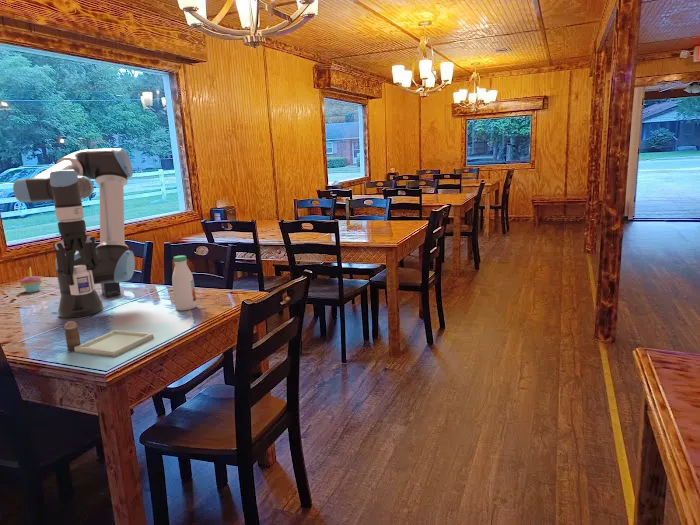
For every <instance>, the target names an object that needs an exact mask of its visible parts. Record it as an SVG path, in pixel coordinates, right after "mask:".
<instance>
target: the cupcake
mask: <svg viewBox="0 0 700 525" xmlns="http://www.w3.org/2000/svg"><path fill="white" fill-rule="evenodd" d="M42 281H43V280H42V279H41V277H39V276H37V275H32V268H31V267H29V276H25V277H23V278H22V279H21V280H20V281H19V284H20V286H21V287H23V289H25V291H26V292H27V293H35V292H39V291H40V286H41V283H42Z"/></svg>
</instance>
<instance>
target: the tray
mask: <svg viewBox="0 0 700 525" xmlns="http://www.w3.org/2000/svg"><path fill="white" fill-rule="evenodd" d="M152 339H154V333H149V332H142V331H141V332H140V331H130V330H129V331H127V330H119V329H114V330H112V331H110V332H107V333H105V334H103V335H100V336H98V337H95V338H93V339H91V340H88V341H86V342H84V343H81V345H79V346H76V347H74V350H75V351H74V352H75V353H77V354H78V353H80V354H86V353H87V354H88V355H96V356H102V357H103V356H104V357H112V358H115V357H117V356H119V355H120V356H121V354H124V353H126V352H128V351H130V350H131V349H135V348H136V347H139V346H140V345H142V344H144V343H147V342H148V341H151V340H152Z"/></svg>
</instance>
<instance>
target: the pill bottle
mask: <svg viewBox="0 0 700 525" xmlns="http://www.w3.org/2000/svg"><path fill="white" fill-rule="evenodd" d="M73 272H74V273H73V274H75V275H76V278H77V284H78V290H79V295H84V294H88V293H91V292H92V285H91V279H90V274H89V272H87V271H86V265H77V266H74V270H73Z"/></svg>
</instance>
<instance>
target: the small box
mask: <svg viewBox="0 0 700 525" xmlns="http://www.w3.org/2000/svg"><path fill="white" fill-rule="evenodd" d="M100 287H101V293H102V295H103V296H104V297H105V298H108V297H113V296H119V295H121V284H120V282H119V283H116V282H114V283H102V284H100Z"/></svg>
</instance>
